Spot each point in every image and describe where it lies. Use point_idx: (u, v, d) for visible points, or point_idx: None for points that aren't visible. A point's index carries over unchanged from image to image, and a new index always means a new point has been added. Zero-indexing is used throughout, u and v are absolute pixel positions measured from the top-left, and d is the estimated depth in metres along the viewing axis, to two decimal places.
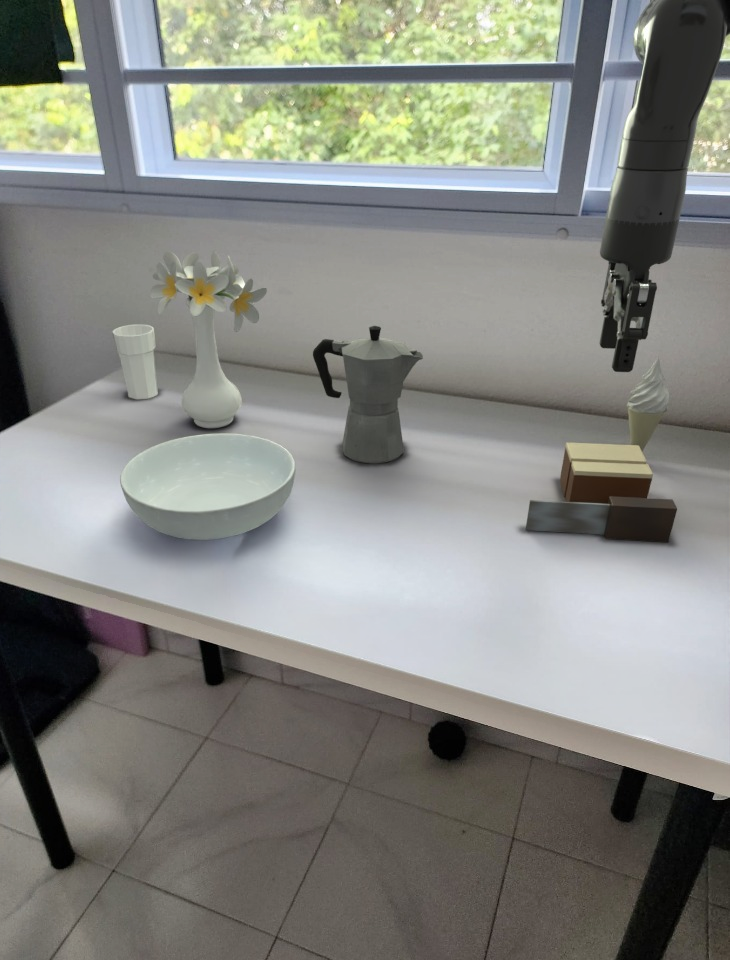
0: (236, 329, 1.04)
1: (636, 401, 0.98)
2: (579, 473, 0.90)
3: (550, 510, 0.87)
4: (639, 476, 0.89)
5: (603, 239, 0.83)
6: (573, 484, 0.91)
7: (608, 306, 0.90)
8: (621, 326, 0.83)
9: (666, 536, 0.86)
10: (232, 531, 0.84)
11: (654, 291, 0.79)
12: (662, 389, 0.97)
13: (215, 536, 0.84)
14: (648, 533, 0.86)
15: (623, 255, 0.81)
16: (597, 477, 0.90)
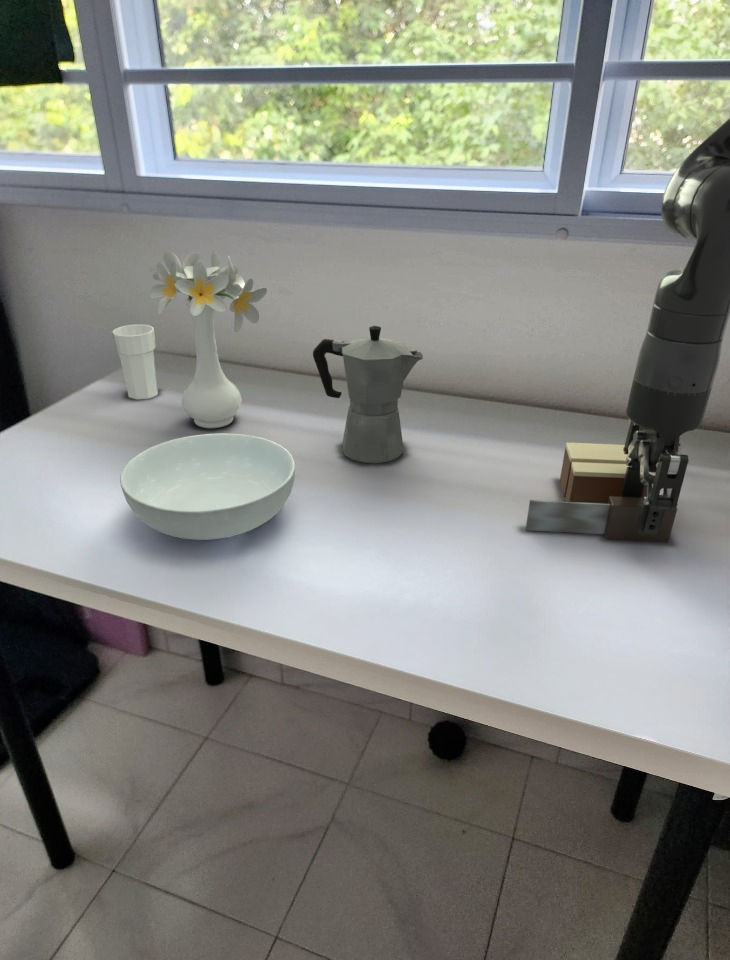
0: (236, 329, 1.04)
1: None
2: (579, 474, 0.90)
3: (550, 510, 0.87)
4: None
5: (630, 400, 0.78)
6: (573, 485, 0.91)
7: (632, 459, 0.85)
8: (648, 492, 0.78)
9: (666, 536, 0.86)
10: (232, 531, 0.84)
11: (686, 464, 0.74)
12: None
13: (215, 536, 0.84)
14: None
15: (652, 422, 0.76)
16: (597, 478, 0.90)
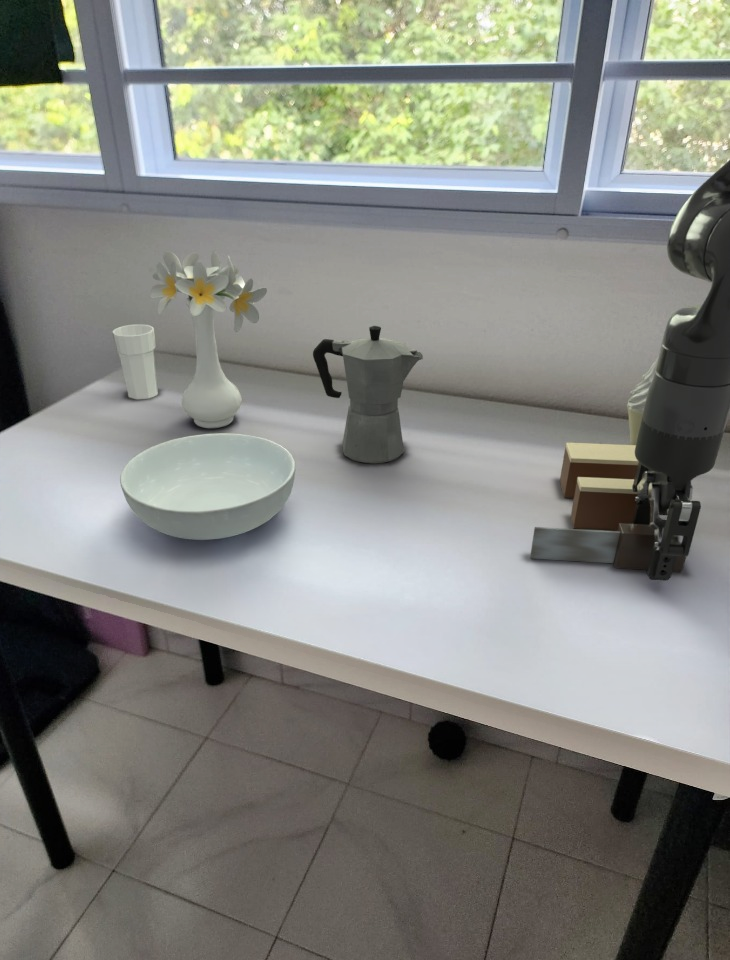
0: (236, 329, 1.04)
1: (636, 401, 0.98)
2: (585, 489, 0.86)
3: (556, 538, 0.82)
4: None
5: (639, 442, 0.75)
6: (579, 501, 0.87)
7: (641, 498, 0.82)
8: (659, 537, 0.75)
9: (679, 566, 0.81)
10: (232, 531, 0.84)
11: (698, 511, 0.71)
12: None
13: (215, 536, 0.84)
14: None
15: (662, 466, 0.73)
16: (604, 493, 0.86)
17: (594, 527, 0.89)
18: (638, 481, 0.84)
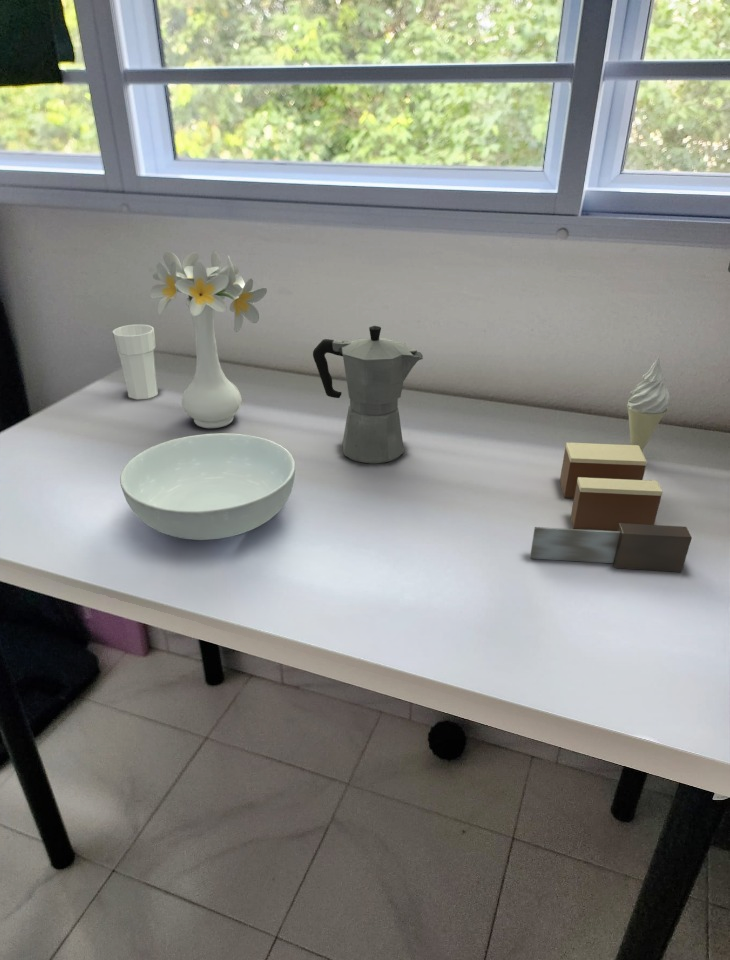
0: (236, 329, 1.04)
1: (636, 401, 0.98)
2: (585, 490, 0.86)
3: (556, 538, 0.82)
4: (648, 493, 0.85)
5: None
6: (579, 501, 0.87)
7: None
8: None
9: (679, 566, 0.81)
10: (232, 531, 0.84)
11: None
12: (662, 389, 0.97)
13: (215, 536, 0.84)
14: (660, 562, 0.81)
15: None
16: (604, 494, 0.86)
17: (594, 527, 0.89)
18: None
